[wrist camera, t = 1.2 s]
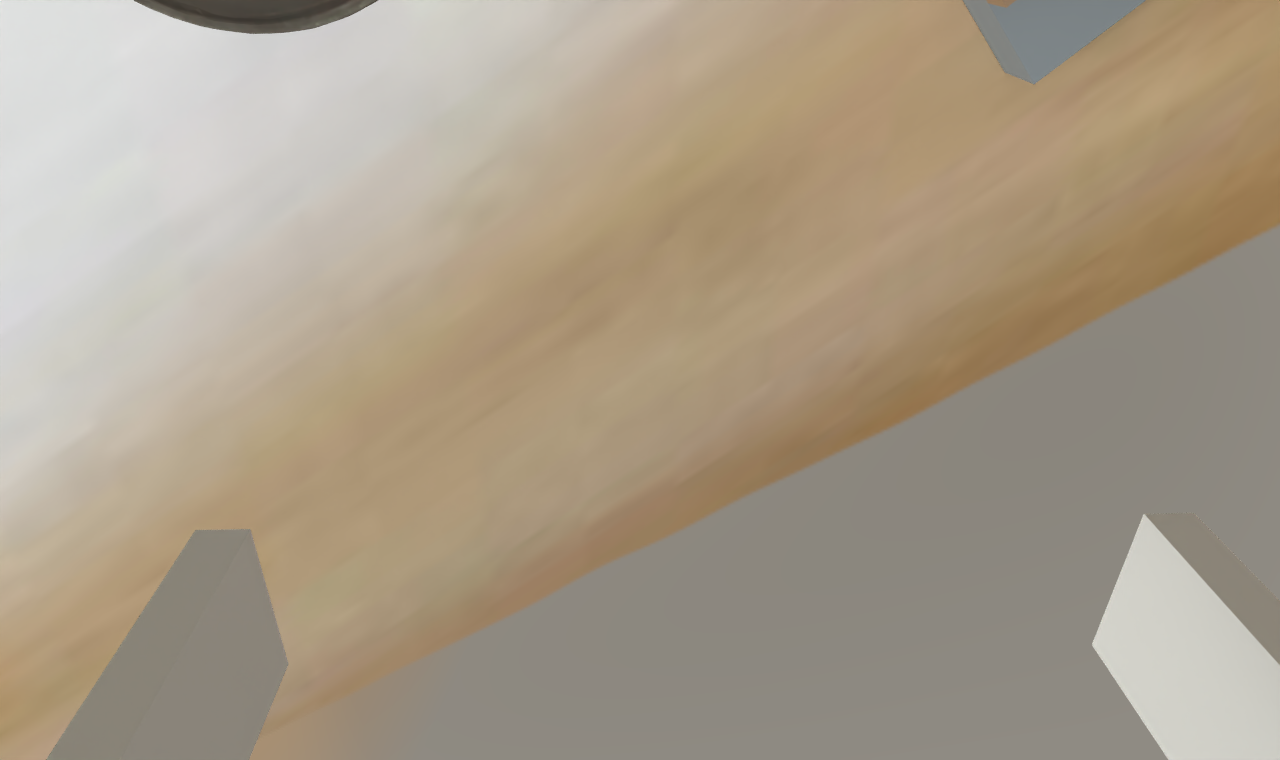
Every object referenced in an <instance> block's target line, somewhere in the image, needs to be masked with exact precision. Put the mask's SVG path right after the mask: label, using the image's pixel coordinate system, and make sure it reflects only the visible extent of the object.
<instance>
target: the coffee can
mask: <svg viewBox="0 0 1280 760" xmlns="http://www.w3.org/2000/svg"><path fill="white" fill-rule="evenodd" d="M134 1H136V2H138V3H140V4H142V5H144V6H146V7H148V8H150V9H153V10H155V11H158V12H160V13H163V14H165V15H168V16H170V17H173V18H176V19H179V20H182V21H186V22H189V23H192V24H195V25H199V26H203V27H208V28H213V29H219V30H225V31H233V32H242V33H250V34H263V33H284V32H293V31H301V30H306V29H312V28H316V27H319V26H322V25H325V24H328V23H331V22H334V21H337V20H340V19H343V18H345V17H348V16H350V15H352V14H354V13H356V12H358V11H360V10H362V9H364V8H365V7H367V6H369V5H371V4H373V3H374V2H376V1H378V0H134Z"/></svg>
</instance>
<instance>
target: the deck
mask: <svg viewBox="0 0 1280 760" xmlns="http://www.w3.org/2000/svg"><path fill="white" fill-rule="evenodd" d="M963 1H964V3H965V5H966V7H967V8H968V10H969V12H970V13H971V15H972V17H973V19H974V20H975V22H976V24H977V25H978V27H979V29H980V31H981V32H982V34H983V36H984V37H985V39H986V41H987V43H988V44H989V46H990V48H991V49H992V51H993V53H994V55H995V56H996V58H997V60H998V61H999V63H1000V65H1001V67H1002V68H1003V70H1004V72H1005V73H1008V74H1010V75H1013V76H1015V77H1017V78H1020V79H1022V80H1025V81H1027V82H1030V83H1032V84H1035V83H1036V82H1038V81H1039V80H1040V79H1042V78H1043V77H1044V76H1046V75H1047V74H1048V73H1050V72H1051V71H1052V70H1054V69H1055V68H1056V67H1058V66H1059V65H1060V64H1062V63H1063V62H1064V61H1066V60H1067V59H1068V58H1070V57H1071V56H1072V55H1074V54H1075V53H1076V52H1078V51H1079V50H1080V49H1082V48H1083V47H1084V46H1086V45H1087V44H1088V43H1090V42H1091V41H1092V40H1094V39H1095V38H1096V37H1098V36H1099V35H1100V34H1102V33H1103V32H1104V31H1106V30H1107V29H1108V28H1110V27H1111V26H1112V25H1114V24H1115V23H1116V22H1118V21H1119V20H1120V19H1122V18H1123V17H1124V16H1126V15H1127V14H1128V13H1130V12H1131V11H1132V10H1134V9H1135V8H1136V7H1138V6H1139V5H1140V4H1142V3H1143V2H1144V1H1146V0H963Z"/></svg>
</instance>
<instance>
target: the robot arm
mask: <svg viewBox="0 0 1280 760" xmlns="http://www.w3.org/2000/svg"><path fill="white" fill-rule="evenodd" d="M1092 645H1093V647H1094V649H1095V650H1096V652H1097V653H1098V655H1099V656H1100V658H1101V659H1102V661H1103V662H1104V664H1105V665H1106V667H1107V668H1108V669H1109V671H1110V673H1111V674H1112V676H1113V677H1114V679H1115V680H1116V682H1117V683H1118V684H1119V686H1120V688H1121V689H1122V691H1123V692H1124V693H1125V695H1126V697H1127V698H1128V699H1129V701H1130V702H1131V704H1132V706H1133V707H1134V708H1135V710H1136V712H1137V713H1138V715H1139V716H1140V717H1141V719H1142V720H1143V722H1144V723H1145V725H1146V727H1147V728H1148V729H1149V731H1150V733H1151V734H1152V736H1153V737H1154V739H1155V740H1156V742H1157V743H1158V744H1159V746H1160V748H1161V749H1162V750H1163V752H1164V754H1165V755H1166V756H1167V758H1168V760H1280V601H1279V600H1278V599H1277V597H1276V596H1275V595H1274V594H1273V593H1272V592H1271V591H1270V590H1269V589H1268V588H1267V587H1266V586H1265V585H1264V584H1263V583H1262V582H1261V581H1260V580H1259V579H1258V578H1257V577H1256V576H1255V575H1254V574H1253V573H1252V572H1251V571H1250V570H1249V569H1248V568H1247V567H1246V566H1245V565H1244V564H1243V563H1242V562H1241V561H1240V560H1239V559H1238V558H1237V557H1236V556H1235V555H1234V554H1233V553H1232V552H1231V551H1230V550H1229V549H1228V548H1227V546H1226V545H1225V544H1224V543H1223V542H1222V541H1221V540H1219V538H1217V536H1216V535H1215V534H1214V533H1213V532H1212V531H1211V530H1210V529H1209V528H1208V527H1207V526H1206V525H1205V524H1204V523H1203V522H1202V521H1201V520H1200V519H1199V518H1198V517H1197V516H1196V515H1195V514H1194V513H1165V514H1164V513H1163V514H1144V515H1143V518H1142V520H1141V523H1140V525H1139V528H1138V530H1137V533H1136V535H1135V538H1134V540H1133V543H1132V545H1131V548H1130V550H1129V553H1128V555H1127V558H1126V560H1125V563H1124V565H1123V568H1122V570H1121V573H1120V575H1119V578H1118V581H1117V583H1116V586H1115V588H1114V591H1113V593H1112V596H1111V598H1110V601H1109V603H1108V606H1107V608H1106V611H1105V613H1104V616H1103V618H1102V621H1101V623H1100V626H1099V629H1098V631H1097V633H1096V636H1095V638H1094V641H1093V644H1092ZM287 666H288V661H287V657H286V654H285V650H284V647H283V643H282V640H281V636H280V633H279V629H278V625H277V622H276V618H275V615H274V611H273V608H272V604H271V601H270V597H269V594H268V590H267V587H266V583H265V580H264V576H263V573H262V569H261V565H260V562H259V558H258V555H257V551H256V548H255V544H254V541H253V537H252V534H251V530H250V529H231V530H195V532H194V533H193V535H192V536H191V538H190V539H189V541H188V542H187V544H186V545H185V547H184V549H183V550H182V552H181V553H180V555H179V556H178V558H177V559H176V561H175V562H174V564H173V565H172V567H171V569H170V570H169V572H168V573H167V575H166V576H165V578H164V579H163V581H162V582H161V584H160V585H159V587H158V589H157V590H156V592H155V593H154V595H153V596H152V598H151V599H150V601H149V602H148V604H147V605H146V607H145V608H144V610H143V612H142V613H141V615H140V616H139V618H138V619H137V621H136V622H135V624H134V625H133V627H132V628H131V630H130V632H129V633H128V635H127V636H126V638H125V639H124V641H123V642H122V644H121V645H120V647H119V648H118V650H117V652H116V653H115V655H114V656H113V658H112V659H111V661H110V662H109V664H108V665H107V667H106V668H105V670H104V671H103V673H102V675H101V676H100V678H99V679H98V681H97V682H96V684H95V685H94V687H93V688H92V690H91V691H90V693H89V695H88V696H87V698H86V699H85V701H84V702H83V704H82V705H81V707H80V708H79V710H78V711H77V713H76V715H75V716H74V718H73V719H72V721H71V722H70V724H69V725H68V727H67V728H66V730H65V731H64V733H63V734H62V736H61V738H60V739H59V741H58V742H57V744H56V745H55V747H54V748H53V750H52V751H51V753H50V754H49V756H48V758H47V759H46V760H249V758H250V756H251V753H252V751H253V748H254V746H255V744H256V741H257V739H258V736H259V734H260V732H261V729H262V727H263V724H264V722H265V719H266V717H267V715H268V712H269V710H270V707H271V705H272V703H273V700H274V698H275V695H276V693H277V690H278V688H279V686H280V683H281V681H282V678H283V676H284V673H285V671H286V669H287Z"/></svg>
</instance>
